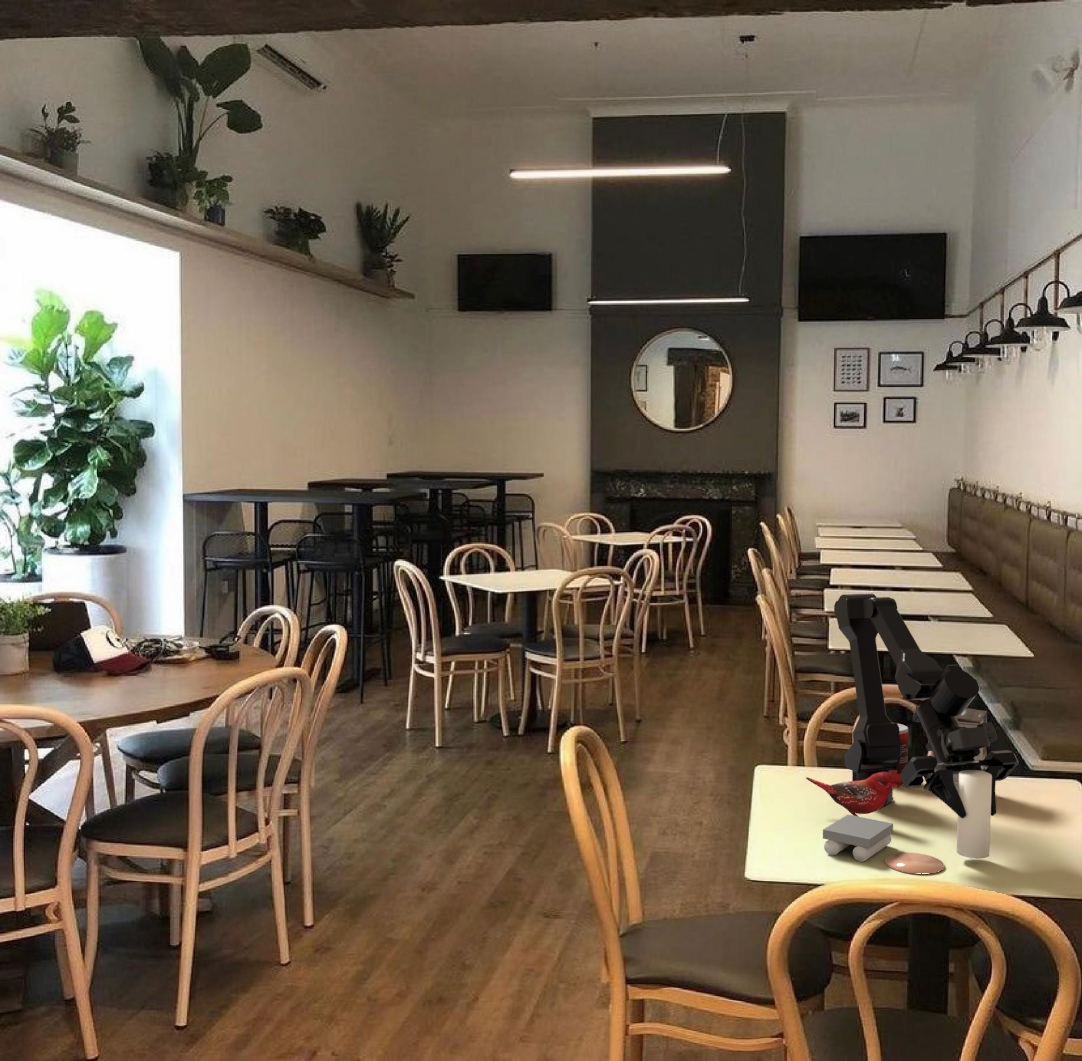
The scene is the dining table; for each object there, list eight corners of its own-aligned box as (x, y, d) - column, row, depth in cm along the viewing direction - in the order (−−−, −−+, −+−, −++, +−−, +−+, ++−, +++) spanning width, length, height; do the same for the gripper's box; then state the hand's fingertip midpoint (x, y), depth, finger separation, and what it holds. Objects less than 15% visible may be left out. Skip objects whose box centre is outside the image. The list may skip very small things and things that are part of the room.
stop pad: (876, 866, 195) (876, 863, 195) (897, 851, 202) (898, 848, 202) (932, 878, 190) (932, 876, 190) (952, 862, 197) (952, 860, 197)
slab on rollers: (822, 853, 201) (822, 829, 201) (847, 837, 209) (847, 814, 209) (868, 863, 197) (869, 839, 196) (892, 846, 204) (893, 823, 204)
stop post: (952, 853, 197) (954, 775, 196) (962, 845, 201) (965, 768, 200) (983, 860, 194) (986, 780, 193) (993, 851, 198) (996, 773, 197)
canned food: (860, 775, 247) (861, 722, 246) (898, 774, 248) (899, 721, 247) (873, 786, 239) (874, 731, 238) (913, 785, 240) (914, 730, 239)
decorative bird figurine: (893, 832, 212) (894, 776, 211) (801, 812, 223) (802, 758, 222) (900, 828, 214) (901, 772, 213) (808, 808, 225) (809, 755, 225)
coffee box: (951, 787, 238) (953, 706, 237) (986, 792, 235) (988, 709, 234) (943, 800, 230) (945, 716, 229) (979, 805, 227) (981, 719, 226)
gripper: (911, 708, 197) (947, 795, 187) (1013, 702, 201) (1054, 787, 191) (885, 743, 205) (918, 829, 196) (984, 737, 210) (1021, 820, 200)
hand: (979, 815), depth 195 cm, fingers closed on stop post, 5 cm apart
